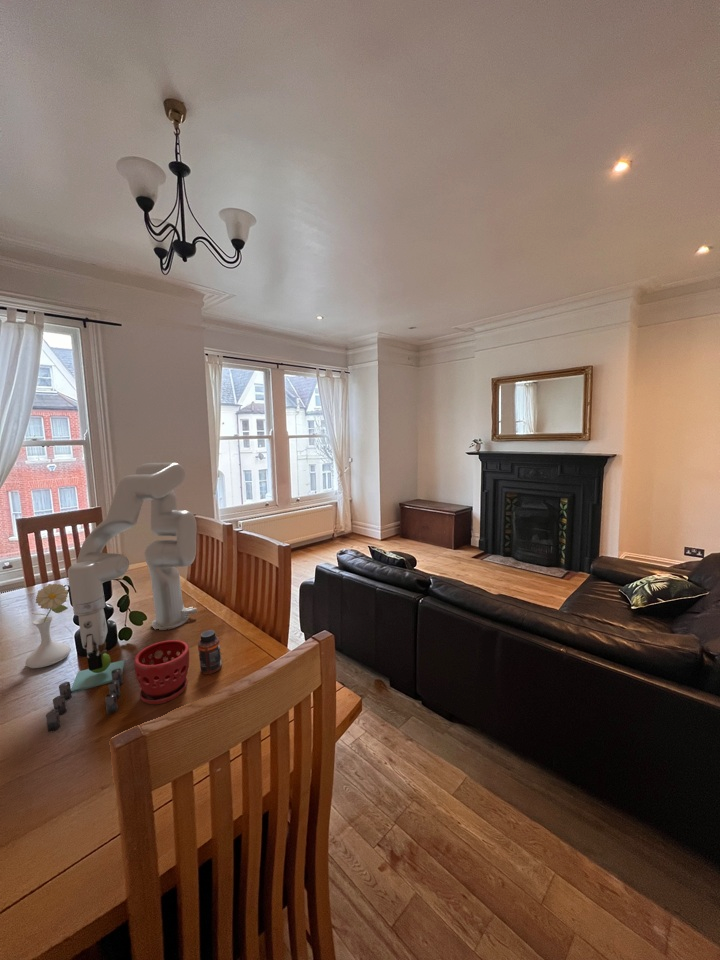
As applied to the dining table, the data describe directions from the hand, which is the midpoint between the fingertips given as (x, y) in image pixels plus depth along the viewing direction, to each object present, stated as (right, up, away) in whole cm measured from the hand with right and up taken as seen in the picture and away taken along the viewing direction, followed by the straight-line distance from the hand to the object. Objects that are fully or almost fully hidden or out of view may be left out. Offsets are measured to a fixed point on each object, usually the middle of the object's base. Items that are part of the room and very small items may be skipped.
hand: (97, 662), depth 113 cm
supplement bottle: (+33, -3, +2) cm, 33 cm away
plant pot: (+24, -5, -8) cm, 26 cm away
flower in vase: (-21, -4, +10) cm, 24 cm away
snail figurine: (0, -3, +1) cm, 3 cm away
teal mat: (0, -4, 0) cm, 4 cm away
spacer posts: (+5, -6, -11) cm, 14 cm away
